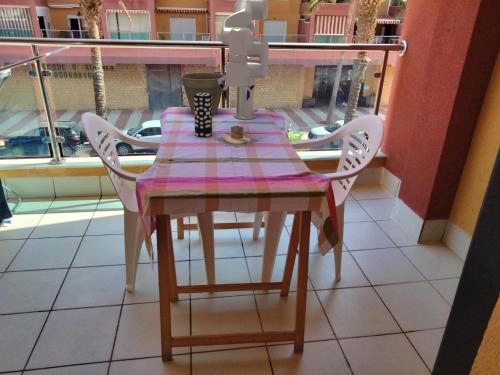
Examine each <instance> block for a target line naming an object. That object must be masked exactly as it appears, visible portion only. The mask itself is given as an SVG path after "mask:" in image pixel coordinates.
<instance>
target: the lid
mask: <svg viewBox="0 0 500 375" xmlns="http://www.w3.org/2000/svg"><path fill="white" fill-rule="evenodd" d="M222 137H223V141H224V142H226V143H229V144H246V143H249V142H250V141H251V138H252V137H251V136H250V135H248V134H246V133H245V134H244V127H243V126H240V125H234V126H231V127H230V133H228V134H227V133H226V134H225V135H223V136H222Z"/></svg>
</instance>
